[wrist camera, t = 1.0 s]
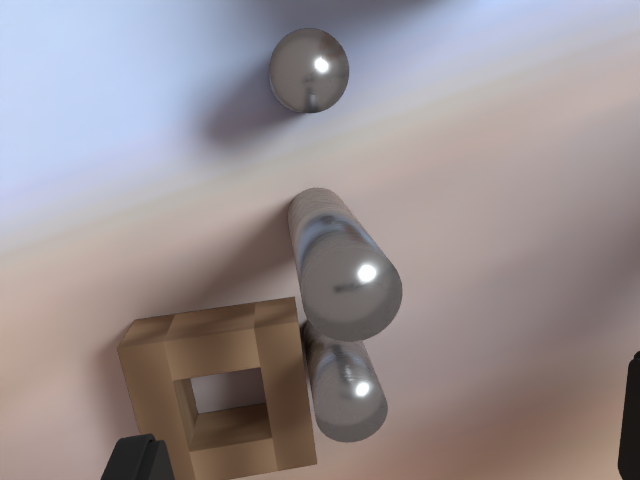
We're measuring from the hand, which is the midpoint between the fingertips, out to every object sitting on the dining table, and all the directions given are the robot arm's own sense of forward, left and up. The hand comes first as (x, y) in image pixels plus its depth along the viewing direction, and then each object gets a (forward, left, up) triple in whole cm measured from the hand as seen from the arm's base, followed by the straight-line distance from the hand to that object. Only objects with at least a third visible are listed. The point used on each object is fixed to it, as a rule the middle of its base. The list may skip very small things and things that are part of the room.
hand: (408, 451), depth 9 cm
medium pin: (0, +8, -20) cm, 21 cm away
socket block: (+7, +10, -19) cm, 23 cm away
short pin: (0, -8, -20) cm, 21 cm away
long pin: (0, 0, -19) cm, 19 cm away
